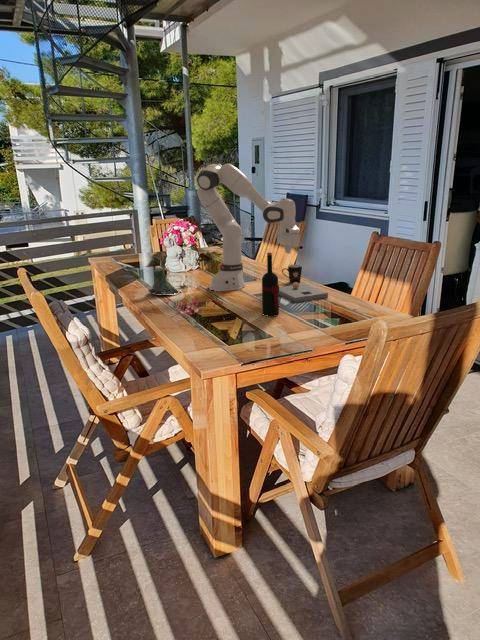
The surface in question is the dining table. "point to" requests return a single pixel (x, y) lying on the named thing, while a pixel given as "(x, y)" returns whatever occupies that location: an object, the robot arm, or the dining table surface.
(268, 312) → the wine bottle
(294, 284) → the ball
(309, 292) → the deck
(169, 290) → the tree stump
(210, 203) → the robot arm
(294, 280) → the coffee mug
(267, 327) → the dining table surface
